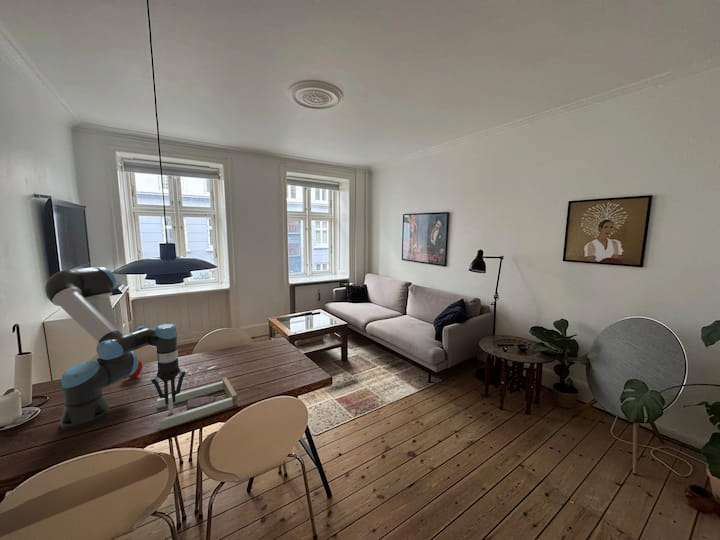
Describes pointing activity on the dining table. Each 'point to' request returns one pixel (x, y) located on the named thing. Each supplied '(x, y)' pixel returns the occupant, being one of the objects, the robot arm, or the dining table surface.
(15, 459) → the dining table surface
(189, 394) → the grey u-shaped frame
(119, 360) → the robot arm
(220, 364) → the dining table surface
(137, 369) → the apple
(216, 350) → the dining table surface
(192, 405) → the stone
